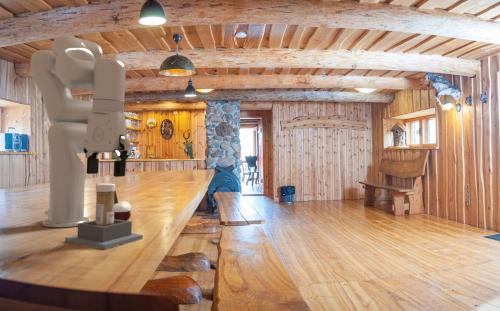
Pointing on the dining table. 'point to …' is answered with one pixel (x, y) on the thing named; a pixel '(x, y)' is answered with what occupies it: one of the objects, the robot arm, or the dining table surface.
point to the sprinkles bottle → (105, 204)
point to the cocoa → (121, 209)
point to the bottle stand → (104, 234)
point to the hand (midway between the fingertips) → (105, 175)
